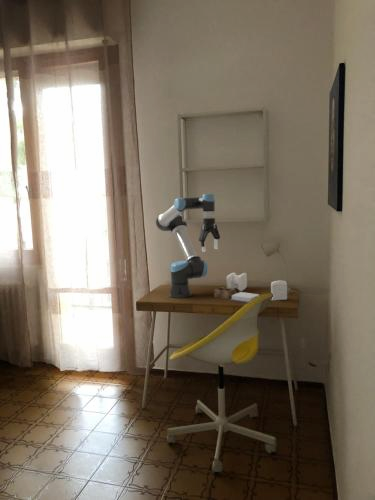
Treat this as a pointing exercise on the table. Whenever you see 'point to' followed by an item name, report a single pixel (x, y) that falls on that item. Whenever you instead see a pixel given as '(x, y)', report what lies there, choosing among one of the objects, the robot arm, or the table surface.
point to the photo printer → (279, 290)
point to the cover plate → (244, 296)
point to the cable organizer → (237, 281)
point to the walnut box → (224, 292)
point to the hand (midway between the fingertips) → (210, 250)
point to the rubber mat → (238, 301)
